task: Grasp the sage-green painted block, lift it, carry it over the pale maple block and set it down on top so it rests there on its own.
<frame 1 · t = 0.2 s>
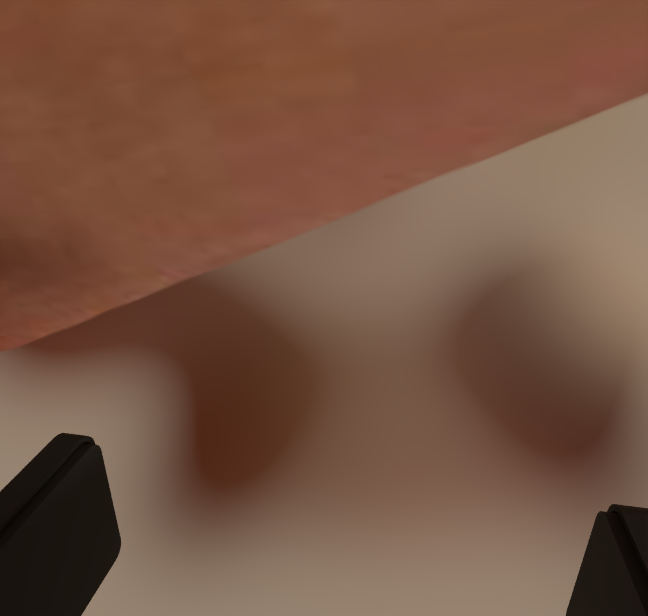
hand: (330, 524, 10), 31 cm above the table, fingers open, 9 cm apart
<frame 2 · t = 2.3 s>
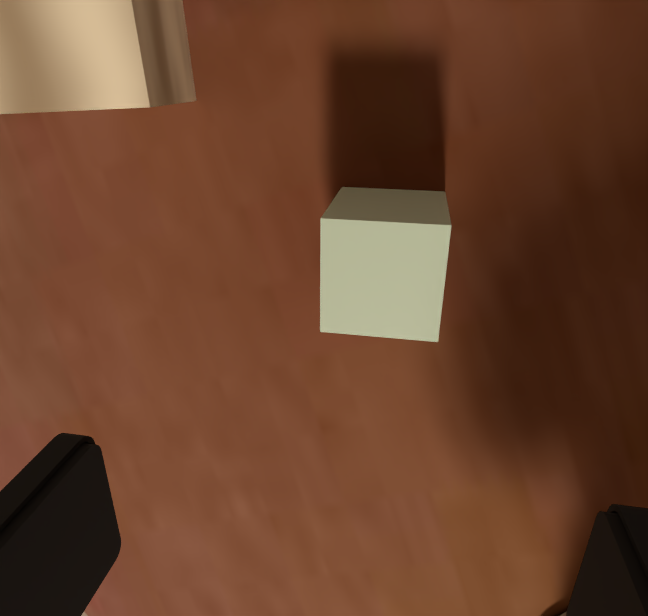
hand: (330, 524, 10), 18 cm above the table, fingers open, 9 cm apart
sage block: (389, 238, 26), on the table
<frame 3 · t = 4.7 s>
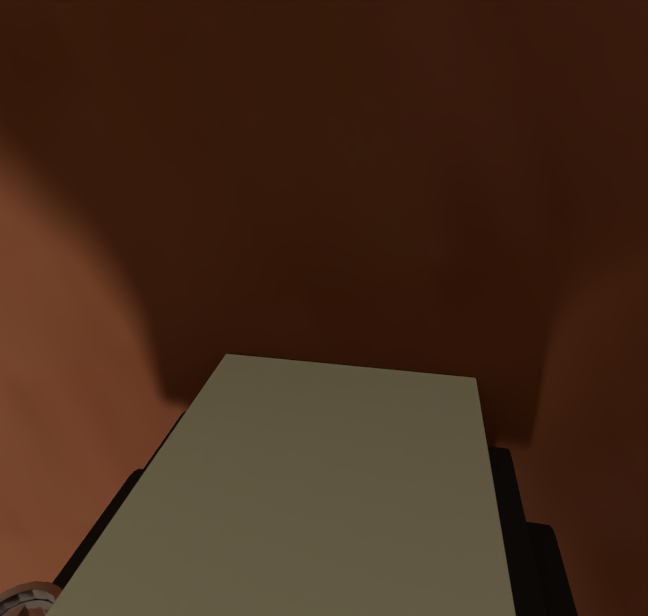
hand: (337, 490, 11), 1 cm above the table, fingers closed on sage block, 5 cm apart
sage block: (343, 463, 11), on the table, touching gripper
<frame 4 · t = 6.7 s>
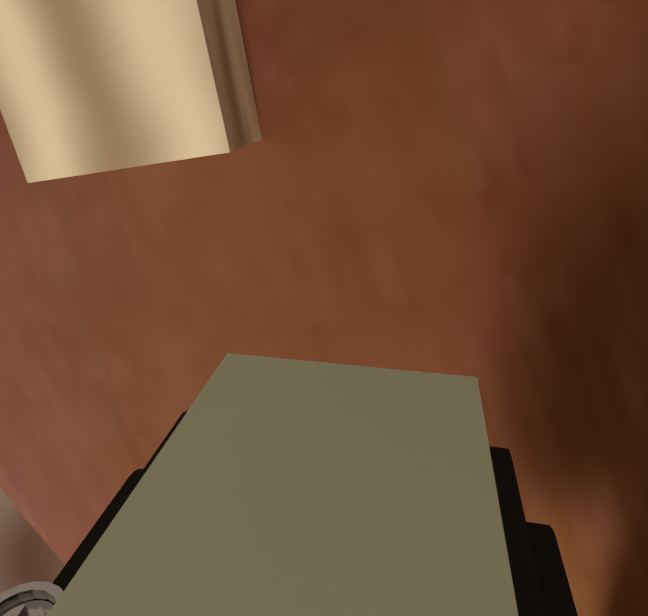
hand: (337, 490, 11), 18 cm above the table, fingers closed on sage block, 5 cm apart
maple block: (146, 47, 25), on the table
sage block: (344, 462, 11), point 17 cm above the table, touching gripper
when the fingers open (7 cm above the table, at t = 9.1 s): sage block drops 1 cm, resting on maple block.
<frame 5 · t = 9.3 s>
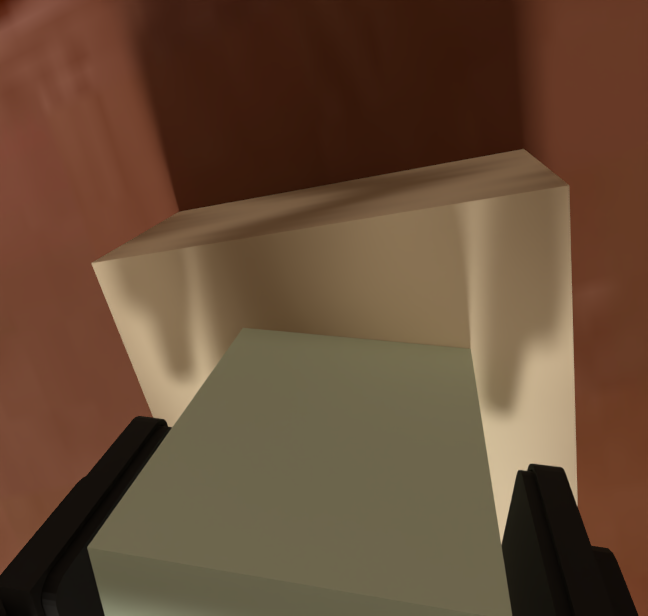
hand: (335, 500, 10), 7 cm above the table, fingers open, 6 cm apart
maple block: (368, 333, 17), on the table, touching sage block
sage block: (349, 430, 12), point 5 cm above the table, touching maple block
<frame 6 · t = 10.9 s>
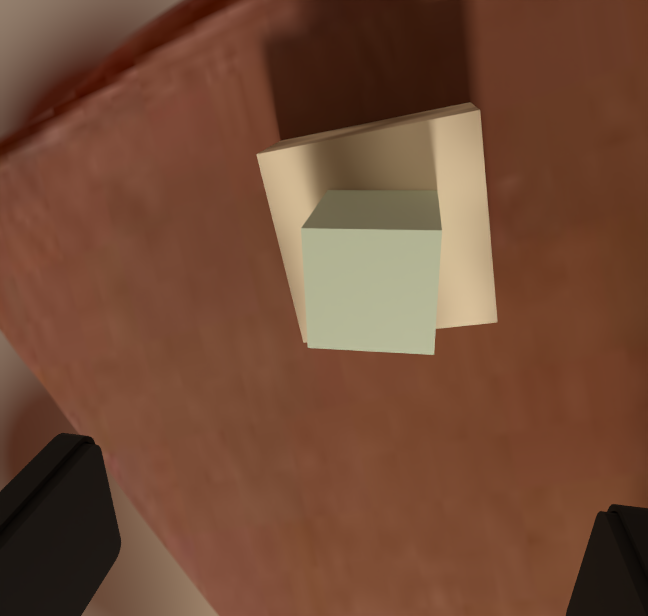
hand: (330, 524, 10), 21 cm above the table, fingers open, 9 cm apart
maple block: (386, 213, 29), on the table, touching sage block
sage block: (381, 242, 25), point 5 cm above the table, touching maple block
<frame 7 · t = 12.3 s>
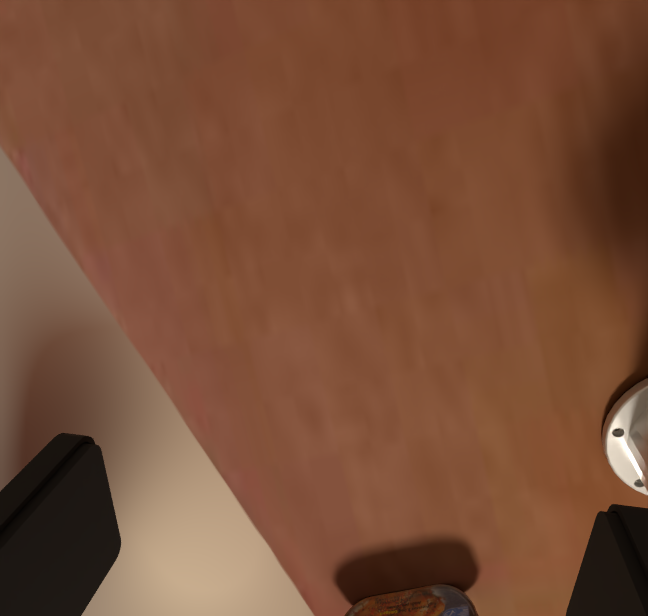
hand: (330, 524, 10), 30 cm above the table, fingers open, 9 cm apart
tin: (408, 597, 55), on the table
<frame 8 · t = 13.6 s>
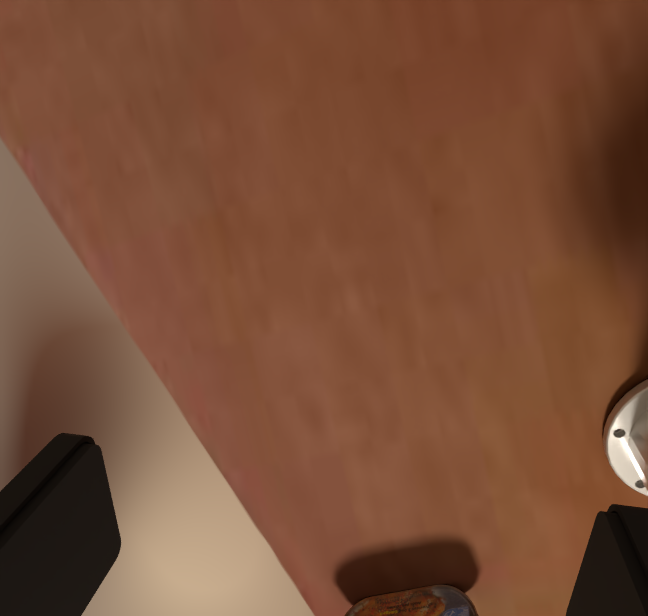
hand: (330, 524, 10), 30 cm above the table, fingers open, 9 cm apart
tin: (408, 598, 55), on the table
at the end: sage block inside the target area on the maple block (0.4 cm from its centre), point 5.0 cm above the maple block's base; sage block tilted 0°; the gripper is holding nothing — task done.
